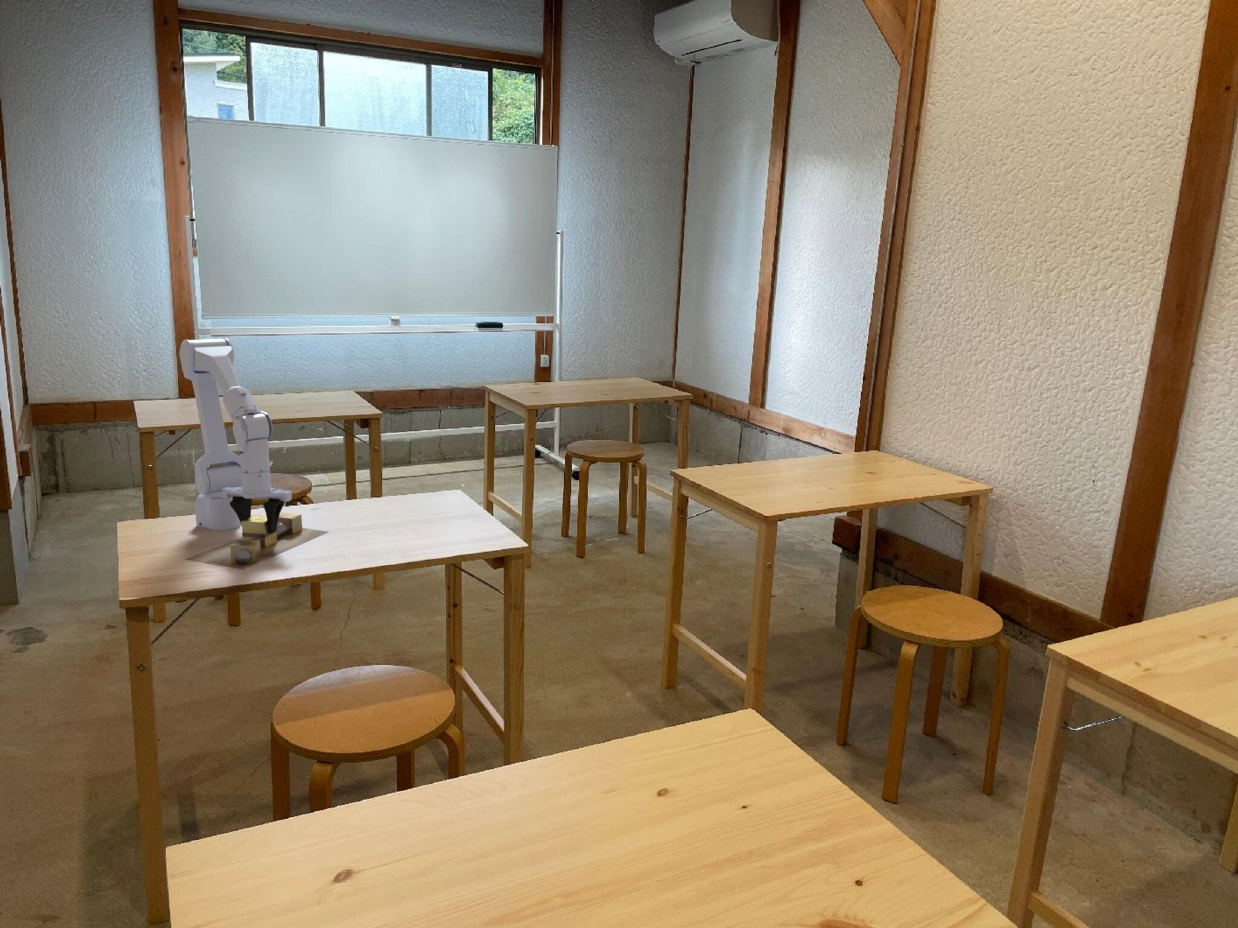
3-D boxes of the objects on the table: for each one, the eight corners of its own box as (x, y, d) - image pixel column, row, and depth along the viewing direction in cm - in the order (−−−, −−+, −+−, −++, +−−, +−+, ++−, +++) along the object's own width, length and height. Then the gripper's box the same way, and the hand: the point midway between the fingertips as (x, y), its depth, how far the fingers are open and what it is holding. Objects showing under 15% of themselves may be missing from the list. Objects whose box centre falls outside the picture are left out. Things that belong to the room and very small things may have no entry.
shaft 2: (281, 540, 195) (280, 523, 194) (262, 538, 196) (261, 521, 195) (305, 528, 203) (304, 512, 203) (286, 526, 205) (285, 510, 204)
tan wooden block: (243, 548, 189) (241, 521, 188) (255, 540, 194) (253, 514, 193) (265, 549, 189) (263, 522, 187) (277, 542, 194) (275, 515, 192)
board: (185, 564, 182) (184, 559, 182) (275, 528, 207) (275, 523, 206) (244, 574, 177) (243, 569, 177) (329, 536, 202) (329, 531, 202)
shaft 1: (243, 550, 188) (242, 533, 187) (266, 550, 188) (265, 533, 187) (229, 565, 179) (228, 547, 178) (254, 565, 179) (253, 547, 178)
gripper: (212, 472, 185) (217, 534, 188) (278, 476, 183) (282, 539, 186) (231, 465, 192) (235, 525, 195) (294, 468, 190) (298, 529, 193)
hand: (259, 531), depth 191 cm, fingers closed on tan wooden block, 5 cm apart
